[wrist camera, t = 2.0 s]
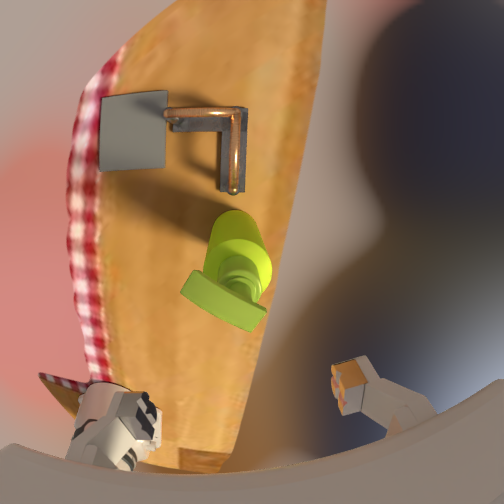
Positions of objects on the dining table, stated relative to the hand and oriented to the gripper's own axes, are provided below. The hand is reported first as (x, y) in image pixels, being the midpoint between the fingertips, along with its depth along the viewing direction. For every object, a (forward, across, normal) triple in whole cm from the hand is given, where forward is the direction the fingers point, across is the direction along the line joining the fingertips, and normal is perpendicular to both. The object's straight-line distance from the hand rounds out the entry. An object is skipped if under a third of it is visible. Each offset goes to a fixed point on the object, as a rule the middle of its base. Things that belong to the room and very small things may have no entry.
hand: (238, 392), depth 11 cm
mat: (+27, +10, -15) cm, 33 cm away
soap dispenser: (+27, 0, 0) cm, 27 cm away
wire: (+27, +2, -10) cm, 29 cm away
